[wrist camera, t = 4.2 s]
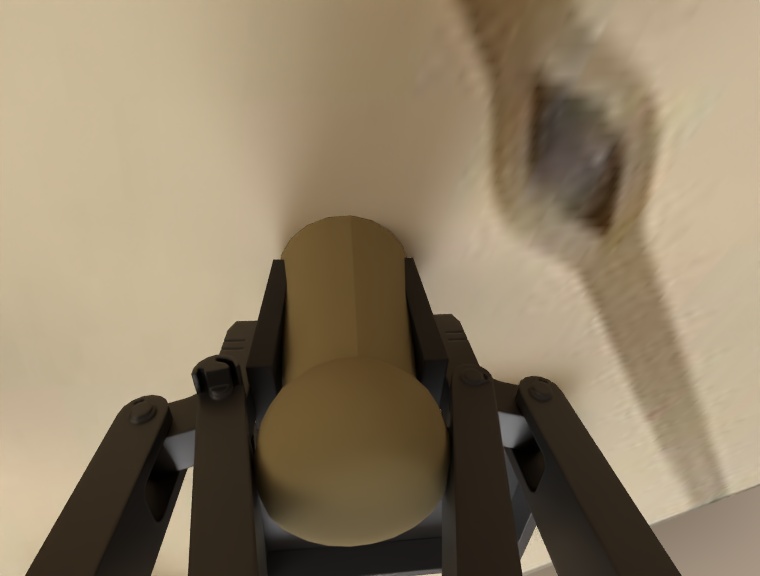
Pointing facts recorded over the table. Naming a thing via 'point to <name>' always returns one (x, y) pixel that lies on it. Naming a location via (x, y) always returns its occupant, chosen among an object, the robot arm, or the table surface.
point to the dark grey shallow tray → (379, 545)
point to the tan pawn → (349, 395)
